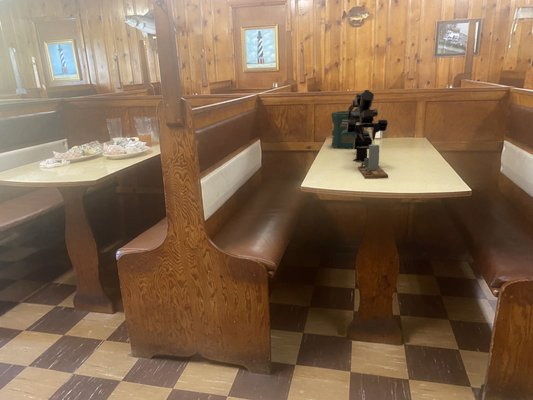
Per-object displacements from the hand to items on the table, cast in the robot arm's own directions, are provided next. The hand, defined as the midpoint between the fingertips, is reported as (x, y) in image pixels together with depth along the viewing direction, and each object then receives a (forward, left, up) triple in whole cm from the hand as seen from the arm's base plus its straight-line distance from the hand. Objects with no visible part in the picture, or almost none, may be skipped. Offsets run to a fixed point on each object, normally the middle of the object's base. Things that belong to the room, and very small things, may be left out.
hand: (368, 140), depth 205 cm
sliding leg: (+11, +7, -12) cm, 17 cm away
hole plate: (+8, +6, -14) cm, 17 cm away
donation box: (-49, -37, -14) cm, 63 cm away
